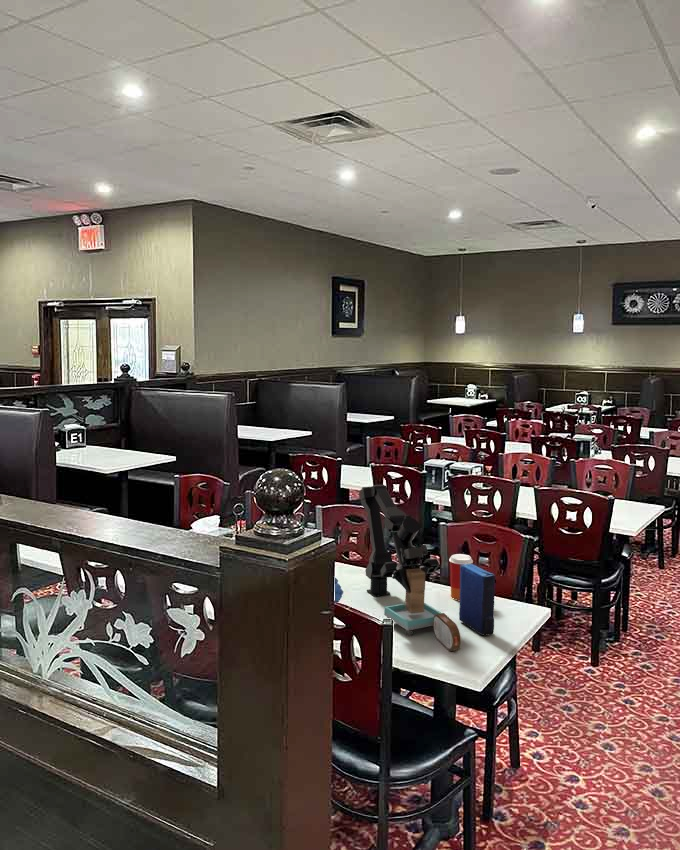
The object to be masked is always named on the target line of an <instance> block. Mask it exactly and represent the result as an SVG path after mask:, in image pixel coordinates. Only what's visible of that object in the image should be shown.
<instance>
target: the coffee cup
mask: <svg viewBox="0 0 680 850" xmlns="http://www.w3.org/2000/svg"><path fill="white" fill-rule="evenodd" d="M448 560H449V562H450V567H449V568H450V597H452V598H454V599H457V600H456V601H458V600H460V566H461V565H465V564H473V562H474V560H473V559H472V557H471V556H470V555H468V554H463V553H456V554H452V555H451V556H450V557H449V559H448ZM452 598H451V599H452ZM454 599H453V600H454Z"/></svg>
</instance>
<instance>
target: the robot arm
mask: <svg viewBox="0 0 680 850" xmlns="http://www.w3.org/2000/svg"><path fill="white" fill-rule="evenodd" d="M358 497H359V499H360V503H361V507H362V508H364V510H365V511H366V513H367V521H368V527H369V535H370V542H371V543H370V544H371V549H372V551H371V554H370V556H369V558H368V561H369V562H368V564H367V566H366V568H365V576H366V577H367V578H368V579H369V580H370V588H369V589H366V592H367V593H368V594H370V595H371V596H374V597H376V598H377V597H381V596H388V595H391V592H389V591H388V578H392V579H393V580H395V581H397V582H398V584H400V585H401V587H403V589H405V592H406V591H407V592H408V593H410V592H411V590H410V586H409V583H408V580H407V577H406V570H407V569H418V568H420V569H421V570H422V571H424V572H425V581H426V577H427V574H434V573H435V572H436V571H437V569H438V568H439V567H440V566H441V565H440V562H439V560H438V559H437V558H436V557H434V558H425V560H424V562H422V563H421V562H420V561H421V558H424V556H426V555H428V552H429V551H428V548H427V545H426V544H420V545H418V547H415V546H414V545H413V543H412V541H413V540H414V539H415V537H416V536H417V534H418V532H419V531H420V529H421V526H420V525H421V524H420V523H419V521H418V520H417V519H415V518H413V517H412V515H411V514H408V515H407V514H406V513H405V512H404V510H402V509H399V508H398V507H397V506H396V504H395V502H394V500H393V498H392V497H391V495H390V493H389V492H388V487H387V485H385V484H374V485H372V486H363V487H361V489H360V490H359V491H358ZM381 511H382V513H383V515H384V521H383V522H384V527H385V529H386V530H387V531H388V532H390V533H392V532H394V533H393V535H392V536H391V543H393V544H394V549H395V552H396V555H395V558H396V559H398V563H399V564H398V563H397V562H396V561H394V560H393V555H392V553H391V551H388V550H387V549H386V543H385V535H384V529H383V523H382V516H381V515H382V514H381ZM418 562H420V563H418Z"/></svg>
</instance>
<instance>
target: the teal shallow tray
mask: <svg viewBox="0 0 680 850" xmlns="http://www.w3.org/2000/svg"><path fill="white" fill-rule="evenodd" d="M383 612H384V613H383V615H384V616H385V617H386V619H387V618H391V619H393V620H394V622H393V623H395V624H397V625H399V626H400V627H401V628H403V629H404V630H405V635H406V636H407V635H408V636H407V637H411V636H412V635H413V630H417V629H424V628H427V627H434V624H433V618H434V616H435V615H436V614H441V613H442V612H441V611H440V610H437V609H435V608H434V607H432V606H431V605H429V604H428V603H426V602H424V612H421V613H412V614H411V613H410V612H408V611H407V610H406V609H405V602H404V603H399V604H394V605H389V606H384V611H383Z"/></svg>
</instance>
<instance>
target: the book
mask: <svg viewBox="0 0 680 850" xmlns="http://www.w3.org/2000/svg"><path fill="white" fill-rule="evenodd" d="M495 585H496V575H495V574H494V573H492V572H489V571H487V570H485V569H483V568H481V567H478V566H477V565H475V564H473V563H472V564H465V565H461V566H460V601H459V609H458V611H459V612H458V614H459V616H458V617H459V618H458V619H459V621H460V622H461V623H462V624H464V625H465V626H467V627H469V628H470V629H472V630H474V631H475V632H477V633H478V634H479V635H482V636H492V635H494V633H495V632H494V631H495V629H494V628H495V617H494V615H495V614H494V612H495V611H494V609H495V587H496V586H495Z"/></svg>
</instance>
